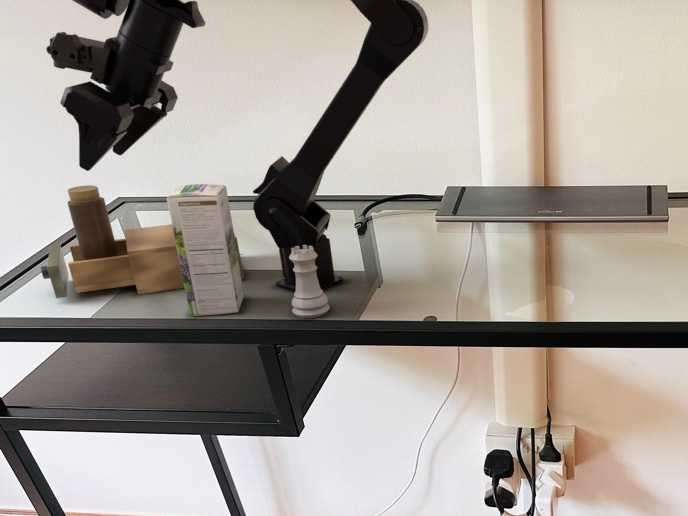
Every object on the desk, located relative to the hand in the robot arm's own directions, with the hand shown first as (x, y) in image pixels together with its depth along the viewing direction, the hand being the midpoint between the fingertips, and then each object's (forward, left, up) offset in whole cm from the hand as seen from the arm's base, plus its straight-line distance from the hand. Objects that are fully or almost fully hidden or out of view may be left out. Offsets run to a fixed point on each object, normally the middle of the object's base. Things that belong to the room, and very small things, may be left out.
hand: (101, 160), depth 101 cm
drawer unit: (-1, -7, -16) cm, 18 cm away
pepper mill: (+4, +1, -15) cm, 15 cm away
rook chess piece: (-27, -7, -17) cm, 32 cm away
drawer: (+4, +2, -16) cm, 16 cm away
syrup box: (-16, -2, -17) cm, 23 cm away
